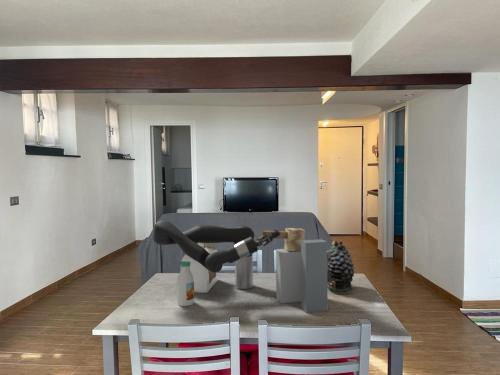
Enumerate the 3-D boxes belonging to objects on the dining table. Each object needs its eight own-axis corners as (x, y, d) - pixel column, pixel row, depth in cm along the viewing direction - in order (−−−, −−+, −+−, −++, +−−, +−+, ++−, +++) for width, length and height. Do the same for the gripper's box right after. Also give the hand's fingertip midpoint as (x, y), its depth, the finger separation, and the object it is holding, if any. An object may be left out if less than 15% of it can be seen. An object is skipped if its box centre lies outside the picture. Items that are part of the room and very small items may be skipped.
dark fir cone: (319, 283, 192) (318, 238, 191) (345, 282, 193) (345, 237, 192) (331, 296, 171) (331, 246, 170) (360, 295, 172) (360, 245, 171)
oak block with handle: (262, 250, 162) (264, 229, 161) (260, 247, 168) (261, 227, 167) (303, 251, 165) (305, 230, 165) (299, 248, 171) (300, 228, 171)
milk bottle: (180, 307, 159) (179, 265, 158) (175, 302, 166) (174, 261, 165) (196, 304, 163) (195, 262, 162) (191, 299, 170) (190, 259, 169)
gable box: (207, 293, 179) (205, 239, 177) (182, 292, 181) (180, 239, 180) (218, 279, 200) (216, 231, 199) (196, 279, 203) (194, 231, 201)
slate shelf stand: (288, 314, 151) (287, 243, 149) (276, 297, 171) (275, 235, 170) (327, 311, 154) (327, 241, 152) (311, 294, 174) (310, 233, 173)
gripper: (245, 243, 156) (279, 227, 158) (240, 237, 170) (271, 222, 172) (251, 258, 157) (285, 241, 159) (246, 251, 171) (277, 236, 173)
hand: (278, 232), depth 166 cm, fingers closed on oak block with handle, 3 cm apart
